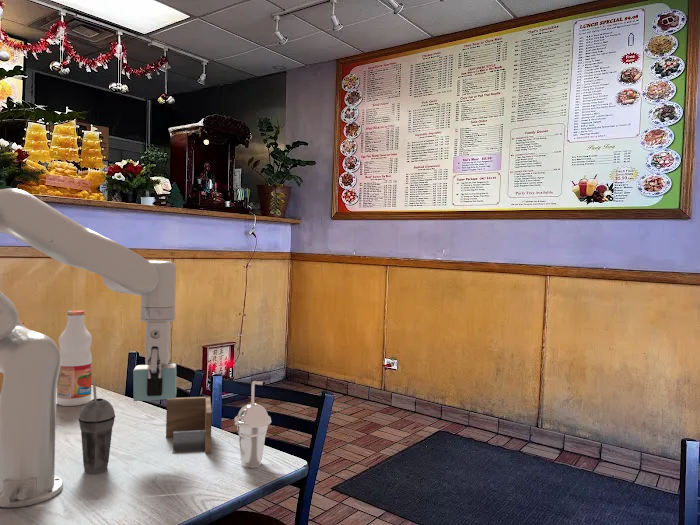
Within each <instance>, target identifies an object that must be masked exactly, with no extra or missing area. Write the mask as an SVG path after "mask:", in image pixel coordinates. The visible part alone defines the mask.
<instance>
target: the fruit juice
mask: <svg viewBox="0 0 700 525" xmlns="http://www.w3.org/2000/svg"><path fill="white" fill-rule="evenodd" d="M85 316H86V312H85V310H79V309H78V310H74V309H73V310H67V312H66V317H67V322H66V325H65V328H64V330H63V331H62V332H61V334H60V336H59V338H58V348H59V350H60V354H61V365H60V371H59V376H58V382H57V390H56V404H57V405H58V406H63V407H74V406H75V407H76V406H82V405H83V406H84V405H85V404H86V403H87V402H89V401H91V400H92V380H93V378H92V375H93V374H92V372H93V371H92V369H93V366H92V364H93V356H92V355H93V354H92V351H91V346H92V342H93V339H92V338H93V336H92V334H91V333H90V332H89V330H87V327H86V324H85V319H84V318H85Z"/></svg>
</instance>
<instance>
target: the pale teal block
mask: <svg viewBox="0 0 700 525" xmlns="http://www.w3.org/2000/svg"><path fill="white" fill-rule="evenodd" d="M157 368H158V369H159V367H157ZM148 370H149V365H146V364H138V365H136V366H135V367H134V369H133V370H132V373H133V374H132V375H133V376H132V378H133V382H132V383H133V387H132V388H133V402H143V401H144V402H145V401H156V400H157V401H159V400H167V399H175V398H177V392H178V391H177V390H178V386H177V384H178V382H177V380H178V379H177V363H173V362H172V363H168V364H167V365H165V364H162V372H161V378H162V395H161V396H147V378H148Z"/></svg>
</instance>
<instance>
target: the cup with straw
mask: <svg viewBox="0 0 700 525" xmlns="http://www.w3.org/2000/svg"><path fill="white" fill-rule="evenodd" d="M256 385H257V386H265V385H266V382H265V381H259V380H258V381H257V380H253V381H252V382H251V387H250V388H251V389H250V390H251V392H250V393H251V394H250V395H251V396H250V397H251V398H250V403H247V404H246V405H244V406H242V407H241V408H240V410H239V411H238V414H237V415H236V416H235V417H234V419H233V424H234V425H235V426H236V427H237V428H236V430H237V434H238V441H239V452H240V453H239V454H240V456H239V457H240V461H241V466H242V467H244V468H248V469H254V468H258V467H261V465H262V460H263V455H264V448H265V441H266V435H267V432H268V427H269V425H271V423H272V418H271V416H270V415H269V414H268V411H267V409H266V408H265V407H264V406H263V405H261V404H259V403H255V391H256V390H255V388H256V387H255V386H256Z"/></svg>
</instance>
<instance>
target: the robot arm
mask: <svg viewBox="0 0 700 525" xmlns="http://www.w3.org/2000/svg"><path fill="white" fill-rule="evenodd" d="M1 233H5V234H7V235H9V236H11V237H13V238H14V239H16V240H18V241H20V242H22V243H25V244H26V245H28V246H30V247H32V248H34V249H35V250H37V251H38V252H41V253H42V254H44V255H46V256H48V257H50V258H51V259H54V260H55V261H57V262H59V263H62V264H65V265H67V266H71V267H74V268H77V269H82V270H86V271H88V272H91V273H94V274H96V275H98V276H101V279H102V282H103V284H104V285H105V287H107V289H109V290H111V291H113V292H116V293H120V294H127V295H133V296H140V322H145V329H144V330H145V332H144V333H145V334H144V348H145V349H144V351H145V352H144V355H145V356H144V358H145V359H144V361H145V365H149V370H148V378H147V396H161V395H162V378H161V372H162V364H165V365H167V364H170V363H169V362H170V360H171V322H175V320H176V294H177V292H176V290H177V289H176V288H177V286H176V285H177V266H176V264H175V263H174V262H173V261H170V260H169V261H168V260H148V259H146V258H145V257H143V256H141V255H140V254H138V253H136V252H135V251H133V250H131V249H130V248H128V247H127V246H125V245H123V244H120V243H118V242H117V241H115V240H112V239H111V238H108V237H107V236H103V235H102V234H100V233H99V232H96V231H94V230H93V229H91V228H88V227H86V226H84V225H83V224H80V223H78V222H77V221H75V219H72V218H70V217H68V216H67V215H65V214H64V213H62V212H60V211H59V210H58V209H55V208H54V207H52V206H51V205H49V204H47V203H46V202H44V201H43V200H41V199H39V198H37V197H36V196H35V195H33V194H30V193H29V192H27V191H25V190H22V189H21V188H20V189H18V188H14V187H13V188H9V187H8V188H0V234H1ZM18 313H19V312H18V310H17V307H16V306H15V303H14V302H13V301H12V300H11V299H10V298H9V297H7V295H6V294H4V293H3V292H2V291H1V290H0V373H1V374H3V375H2V376H3V380H2V383H1V384H2V385H1V389H0V508H20V507H21V508H22V507H27V506H33V505H36V504H40V503H42V502H45V501H47V500H51V499H52V498H53V497H55V496H57V495H58V494H60V492H61V491H62V490H63V489H64V480H63V479H62V478H61V477H60V476H57V475H55V473H56V472H55V468H56V467H55V465H56V464H55V462H56V422H57V421H56V419H57V418H56V416H57V415H56V413H57V411H56V406H57V382H58V376H59V371H60V365H61V354H60V347H59V345H58V344H57V343H56V342H55V340H53V338H51V337H50V336H48V335H46V334H44V333H42V332H38V331H36V330H32V329H29V328H27V327H26V326H25V325H24V324H23V323H22V322H21V321H20V320H19V314H18ZM157 367H159V369H158V368H157Z"/></svg>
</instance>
